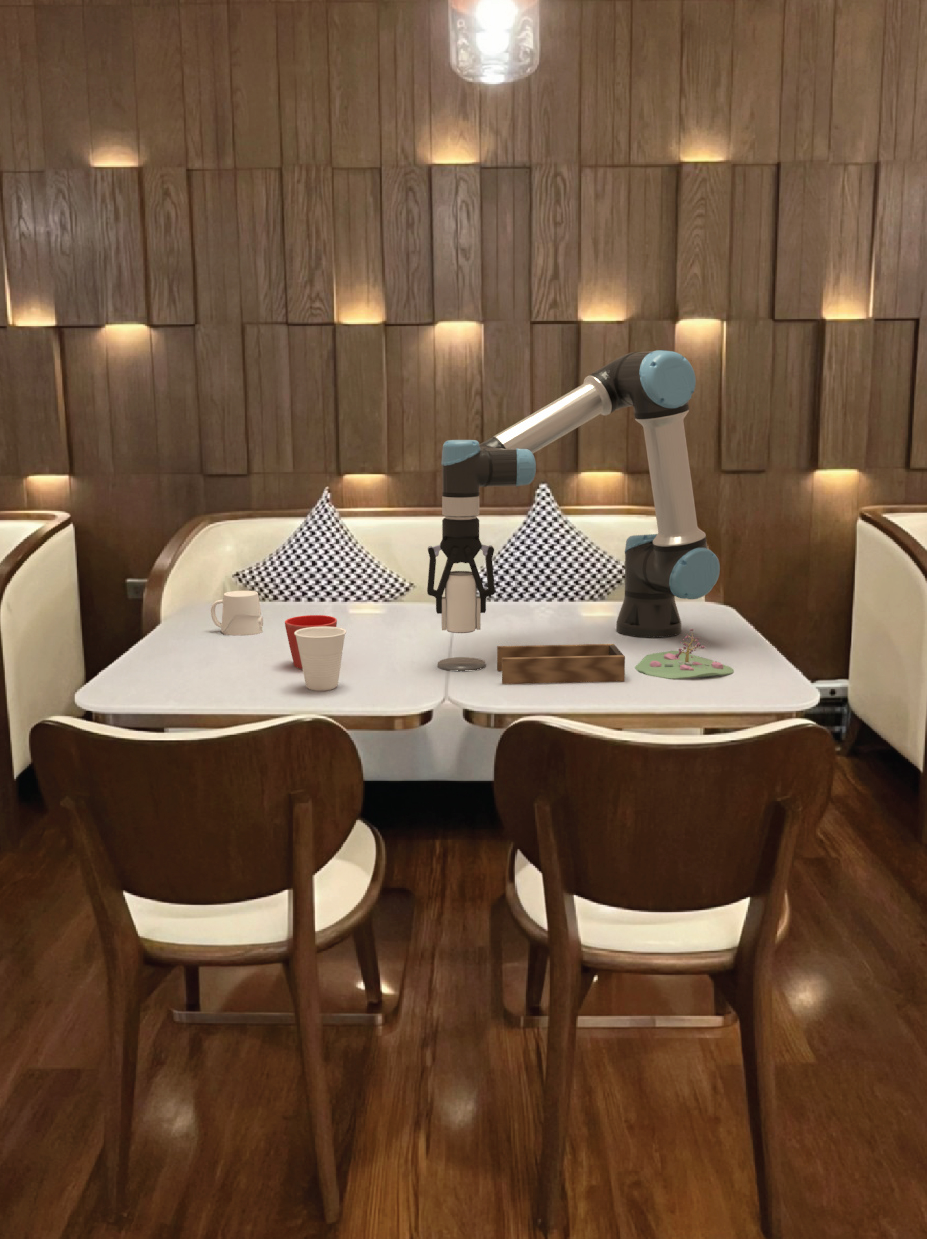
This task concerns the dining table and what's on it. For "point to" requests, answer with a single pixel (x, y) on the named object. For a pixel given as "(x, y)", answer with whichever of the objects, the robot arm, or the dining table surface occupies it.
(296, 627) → the flower pot
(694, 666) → the plant
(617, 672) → the channel
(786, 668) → the dining table surface
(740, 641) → the dining table surface
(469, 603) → the can
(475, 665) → the coaster
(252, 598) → the mug
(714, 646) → the dining table surface
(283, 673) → the dining table surface
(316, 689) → the cup
